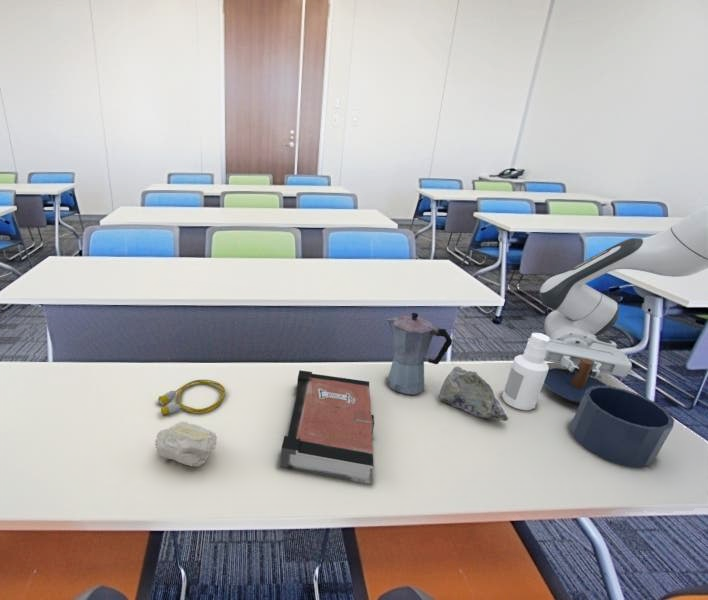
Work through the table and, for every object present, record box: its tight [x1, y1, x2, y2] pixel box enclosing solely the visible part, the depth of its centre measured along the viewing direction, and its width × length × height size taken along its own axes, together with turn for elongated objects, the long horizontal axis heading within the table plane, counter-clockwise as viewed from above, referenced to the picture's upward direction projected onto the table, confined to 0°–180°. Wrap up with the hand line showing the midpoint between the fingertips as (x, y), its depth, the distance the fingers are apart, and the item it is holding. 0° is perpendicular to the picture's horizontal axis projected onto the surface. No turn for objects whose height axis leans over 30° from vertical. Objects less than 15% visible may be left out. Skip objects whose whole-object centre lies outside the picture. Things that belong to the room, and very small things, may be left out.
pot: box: [569, 385, 675, 468], centre depth 82 cm, size 14×14×10 cm
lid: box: [543, 358, 608, 405], centre depth 96 cm, size 15×15×8 cm
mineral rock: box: [438, 365, 509, 422], centre depth 90 cm, size 13×11×10 cm
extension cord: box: [157, 379, 226, 416], centre depth 95 cm, size 12×16×2 cm
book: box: [280, 369, 375, 485], centre depth 85 cm, size 26×18×5 cm
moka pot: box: [386, 312, 453, 395], centre depth 97 cm, size 10×15×20 cm, turn 55°
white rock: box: [154, 421, 217, 467], centre depth 77 cm, size 12×8×10 cm
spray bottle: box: [501, 332, 550, 411], centre depth 92 cm, size 7×7×18 cm
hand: (585, 372), depth 95 cm, fingers closed on lid, 2 cm apart
